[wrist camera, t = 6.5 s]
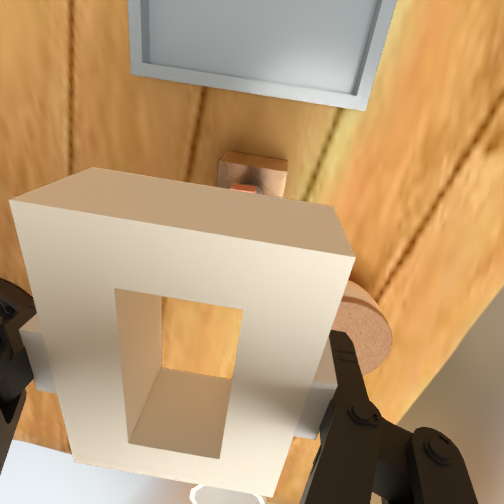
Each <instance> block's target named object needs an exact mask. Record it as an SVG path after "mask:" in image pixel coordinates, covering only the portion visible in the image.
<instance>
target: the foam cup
mask: <svg viewBox="0 0 504 504" xmlns="http://www.w3.org/2000/svg"><path fill="white" fill-rule="evenodd" d="M189 498H190V500H191V501H192V503H193V504H266V501H267V496H261V495H256V494H250V493H244V492H239V491H233V490H228V489H222V488H216V487H211V486H205V485H199V484H194V483H193V484H192V489H191V493H190V497H189Z"/></svg>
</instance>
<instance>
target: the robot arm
mask: <svg viewBox="0 0 504 504" xmlns="http://www.w3.org/2000/svg"><path fill="white" fill-rule="evenodd" d="M33 379H34V382H35V385H36V389H37V390H40V391H46V392H51V393H57V391H56V387H55V383H54V379H53V375H52V371H51V367H50V363H49V359H48V355H47V351H46V347H45V343H44V339H43V335H42V331H41V327H40V323H39V319H38V315H37V311H36V307H35V303H34V300H33V299H32V298H31V297H30V296H28V295H27V294H26V293H25V292H23V291H22V290H20V289H19V288H17V287H16V286H14V285H12V284H10V283H8V282H6V281H4V280H1V279H0V474H1V471H2V468H3V465H4V462H5V459H6V456H7V453H8V450H9V447H10V444H11V441H12V439H13V436H14V433H15V430H16V427H17V424H18V421H19V418H20V415H21V412H22V409H23V406H24V403H25V400H26V390H25V387H26V386H27V385H28V384H29V383H30V382H31V381H32V380H33ZM319 430H320V440H321V445H320V448H319V450H318V452H317V455H316V457H315V459H314V462H313V467H312V470H311V472H310V475H309V478H308V481H307V484H306V487H305V490H304V492H303V495H302V498H301V501H300V504H370V500H371V493H372V492H374V493H375V494H377V495H379V496H381V497H382V498H381V499H382V504H478V501H477V498H476V495H475V493H474V489H473V486H472V483H471V480H470V477H469V474H468V471H467V468H466V465H465V462H464V459H463V457H462V455H461V453H460V451H459V450H458V448H457V447H456V446H455V445H454V443H453V442H452V441H451V440H450V439H449V438H447V437H446V436H445V435H444V434H442V433H441V432H439V431H437V430H435V429H432V428H428V427H421V428H417V429H416V430H415V431H414V433H411V432H409V431H406V430H405V429H402V428H400V427H398V426H396V425H394V424H392V423H390V422H389V421H387V420H385V419H384V418H383V417H382V416H381V414H380V412H379V410H378V409H377V408H376V406H375V405H374V404H373V403H372V402H370V401H369V398H368V395H367V391H366V388H365V384H364V380H363V377H362V373H361V369H360V366H359V364H358V358H357V355H356V351H355V347H354V344H353V342H352V340H351V339H350V338H349V336H348V335H347V334H346V332H342V331H336V330H330V333H329V336H328V339H327V342H326V345H325V348H324V350H323V353H322V356H321V359H320V362H319V365H318V368H317V371H316V373H315V376H314V379H313V381H311V384H310V387H309V390H308V393H307V396H306V399H305V402H304V405H303V408H302V411H301V414H300V417H299V420H298V423H297V426H296V428H295V431H294V434H293V436H297V437H302V438H308V439H314V440H316V438H317V435H318V433H319Z"/></svg>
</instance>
